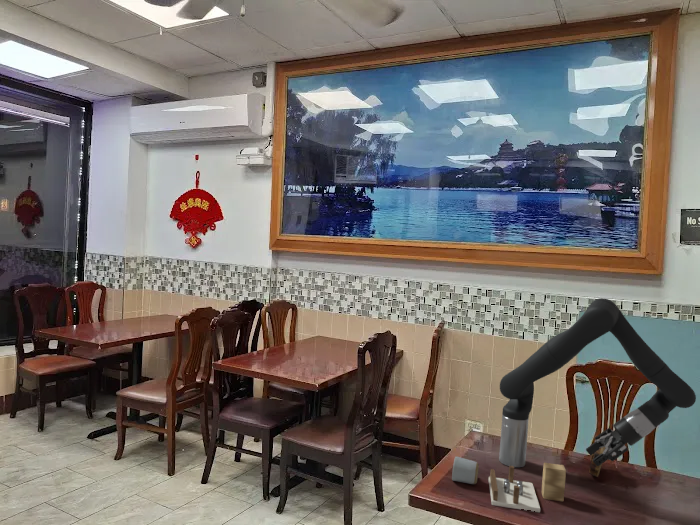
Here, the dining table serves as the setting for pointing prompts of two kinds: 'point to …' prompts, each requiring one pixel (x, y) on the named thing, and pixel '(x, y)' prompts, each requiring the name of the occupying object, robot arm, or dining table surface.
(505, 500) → the peg stand
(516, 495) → the walnut frame
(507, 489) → the pegs
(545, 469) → the oak block
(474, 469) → the ceramic mug
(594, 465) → the wooden carving
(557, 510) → the dining table surface
